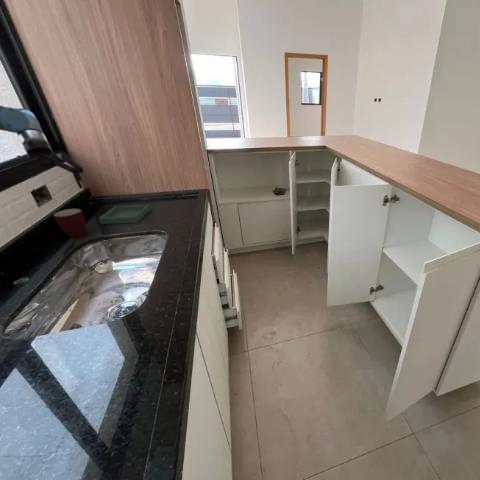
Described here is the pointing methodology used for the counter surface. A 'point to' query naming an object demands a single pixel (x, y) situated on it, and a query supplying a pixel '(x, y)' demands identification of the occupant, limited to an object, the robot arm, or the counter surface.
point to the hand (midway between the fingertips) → (58, 190)
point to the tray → (124, 214)
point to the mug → (71, 222)
